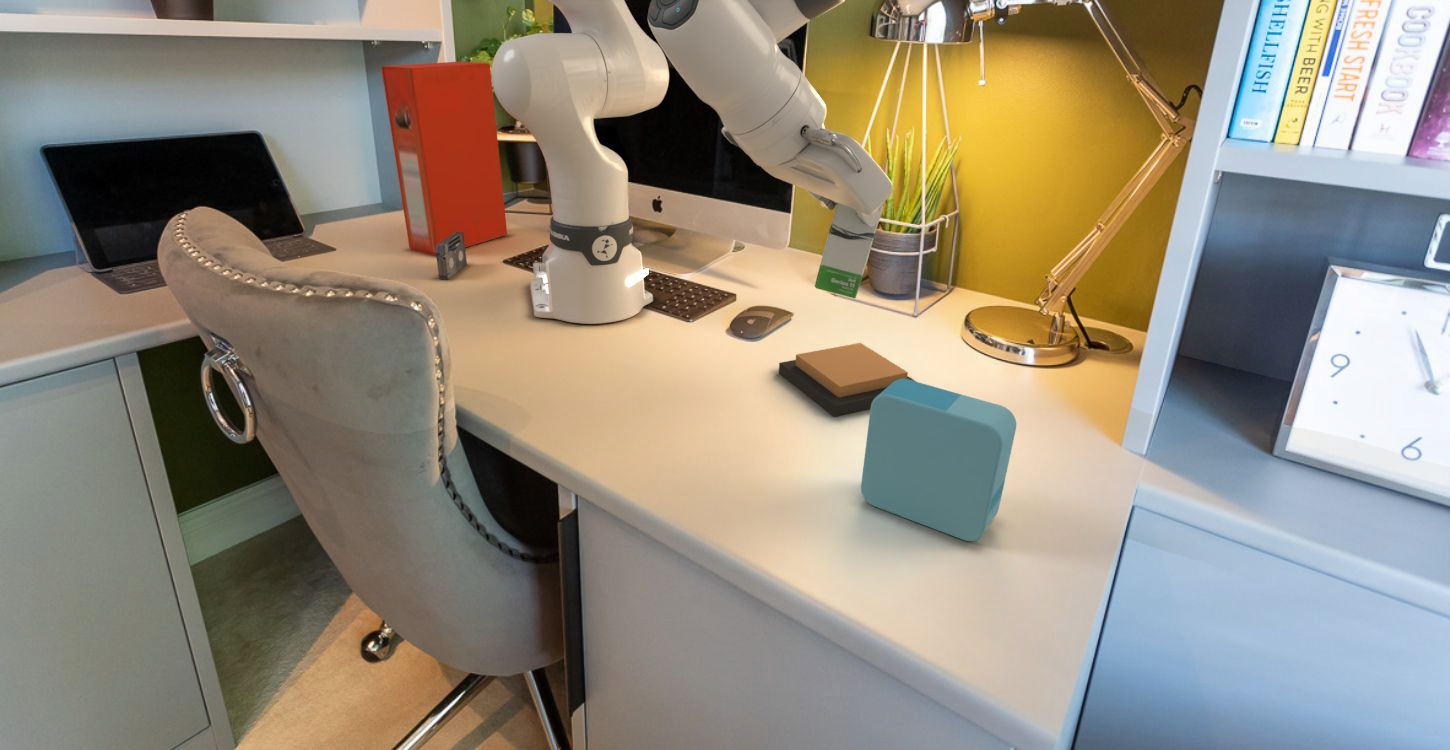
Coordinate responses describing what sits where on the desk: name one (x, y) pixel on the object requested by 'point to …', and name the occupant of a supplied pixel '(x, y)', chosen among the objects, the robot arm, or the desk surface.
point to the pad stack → (842, 377)
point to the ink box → (845, 253)
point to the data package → (937, 457)
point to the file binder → (446, 151)
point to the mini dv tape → (451, 255)
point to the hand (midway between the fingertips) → (852, 212)
